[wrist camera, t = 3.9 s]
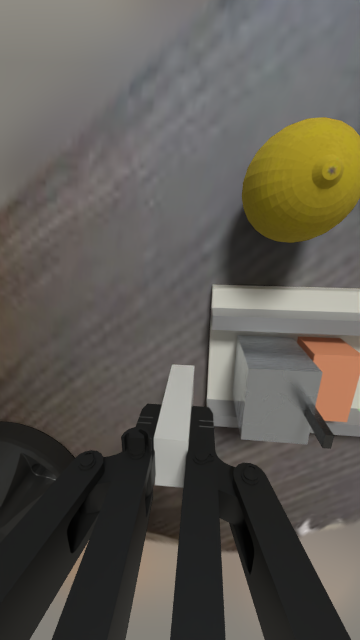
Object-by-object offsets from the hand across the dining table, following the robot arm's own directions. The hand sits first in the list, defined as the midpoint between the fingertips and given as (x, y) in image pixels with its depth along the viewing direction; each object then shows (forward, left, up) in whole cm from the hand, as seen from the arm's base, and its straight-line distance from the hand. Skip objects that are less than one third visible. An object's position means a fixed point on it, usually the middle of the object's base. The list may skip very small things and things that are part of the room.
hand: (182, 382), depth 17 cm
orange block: (+10, 0, -3) cm, 10 cm away
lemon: (+6, +12, -5) cm, 14 cm away
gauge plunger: (+6, 0, -3) cm, 7 cm away
